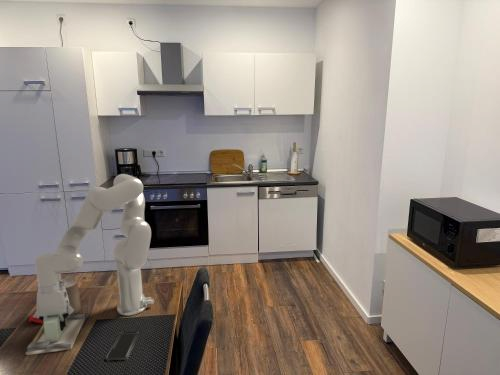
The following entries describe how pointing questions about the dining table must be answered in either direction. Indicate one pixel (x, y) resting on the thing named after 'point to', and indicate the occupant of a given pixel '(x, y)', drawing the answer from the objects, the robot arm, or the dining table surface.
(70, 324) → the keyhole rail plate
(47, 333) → the sage panel block
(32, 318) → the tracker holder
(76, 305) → the pillar candle
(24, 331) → the dining table surface
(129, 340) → the phone
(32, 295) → the dining table surface
